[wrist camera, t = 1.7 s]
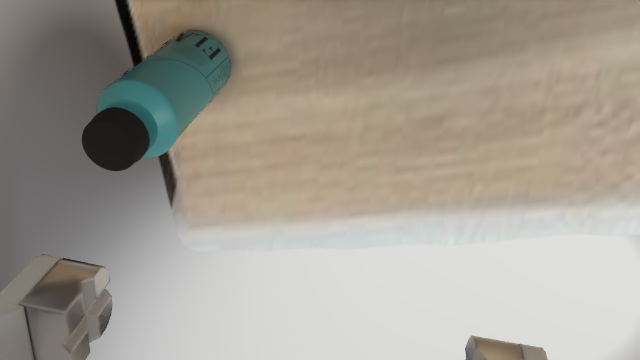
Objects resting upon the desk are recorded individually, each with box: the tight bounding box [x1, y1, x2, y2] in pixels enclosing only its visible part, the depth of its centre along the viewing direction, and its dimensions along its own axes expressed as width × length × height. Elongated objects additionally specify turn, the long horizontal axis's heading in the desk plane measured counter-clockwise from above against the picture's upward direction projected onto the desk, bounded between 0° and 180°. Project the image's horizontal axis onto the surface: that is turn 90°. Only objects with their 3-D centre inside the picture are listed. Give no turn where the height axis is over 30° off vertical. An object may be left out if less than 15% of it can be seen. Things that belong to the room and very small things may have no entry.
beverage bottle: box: [82, 30, 231, 171], centre depth 45 cm, size 6×7×20 cm
